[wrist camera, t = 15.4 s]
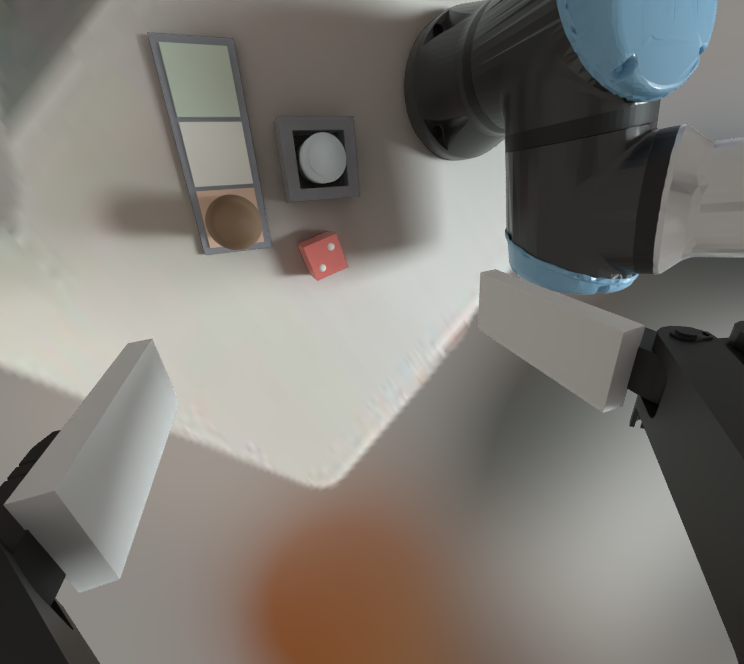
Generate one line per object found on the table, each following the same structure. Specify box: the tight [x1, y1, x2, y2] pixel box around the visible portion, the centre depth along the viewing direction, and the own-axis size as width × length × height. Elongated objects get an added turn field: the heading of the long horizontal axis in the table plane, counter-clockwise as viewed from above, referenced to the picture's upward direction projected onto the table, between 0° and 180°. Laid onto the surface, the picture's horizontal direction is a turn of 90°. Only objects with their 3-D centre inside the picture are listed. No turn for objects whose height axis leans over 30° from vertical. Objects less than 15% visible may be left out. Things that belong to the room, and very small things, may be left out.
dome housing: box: [274, 116, 360, 202], centre depth 37 cm, size 8×8×3 cm
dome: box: [296, 132, 346, 184], centre depth 36 cm, size 5×5×4 cm
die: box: [297, 231, 348, 281], centre depth 40 cm, size 4×4×4 cm
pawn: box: [205, 194, 262, 250], centre depth 31 cm, size 4×4×11 cm
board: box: [147, 32, 271, 255], centre depth 34 cm, size 7×19×1 cm, turn 5°
